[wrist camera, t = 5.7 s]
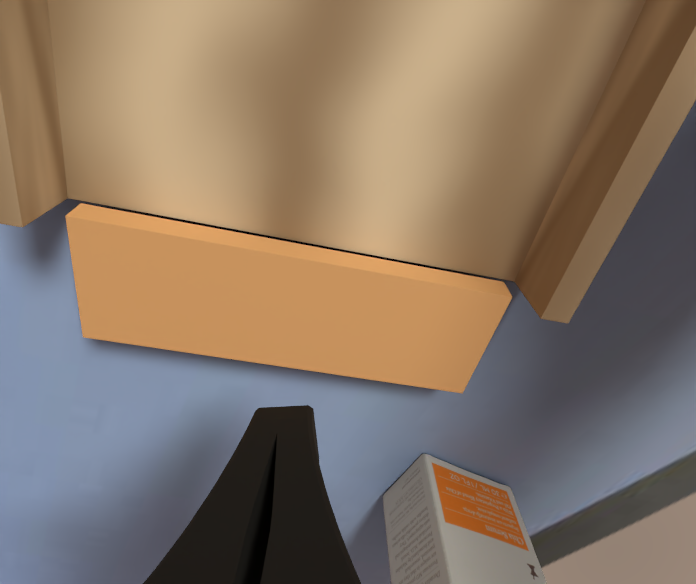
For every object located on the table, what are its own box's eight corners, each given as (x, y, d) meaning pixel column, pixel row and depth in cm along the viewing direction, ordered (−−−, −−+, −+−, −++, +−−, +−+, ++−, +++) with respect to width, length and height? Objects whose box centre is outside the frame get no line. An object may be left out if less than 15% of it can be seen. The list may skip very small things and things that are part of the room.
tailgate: (512, 297, 16) (462, 393, 19) (499, 273, 17) (454, 366, 20) (65, 216, 14) (83, 337, 17) (89, 196, 15) (102, 311, 18)
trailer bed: (745, -165, 11) (883, -229, 8) (530, 276, 18) (568, 323, 15) (-29, -443, 9) (-200, -664, 6) (48, 184, 15) (-16, 220, 12)
